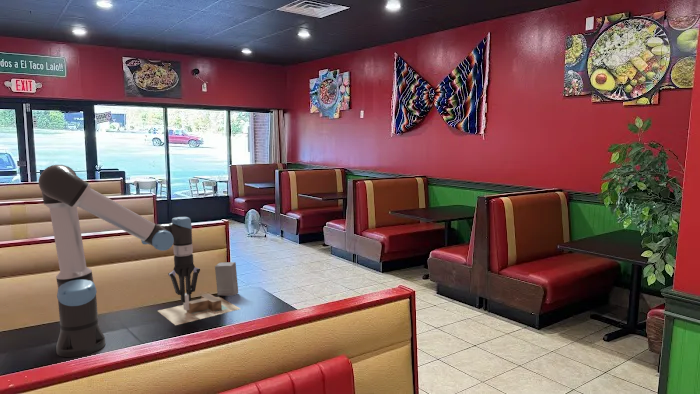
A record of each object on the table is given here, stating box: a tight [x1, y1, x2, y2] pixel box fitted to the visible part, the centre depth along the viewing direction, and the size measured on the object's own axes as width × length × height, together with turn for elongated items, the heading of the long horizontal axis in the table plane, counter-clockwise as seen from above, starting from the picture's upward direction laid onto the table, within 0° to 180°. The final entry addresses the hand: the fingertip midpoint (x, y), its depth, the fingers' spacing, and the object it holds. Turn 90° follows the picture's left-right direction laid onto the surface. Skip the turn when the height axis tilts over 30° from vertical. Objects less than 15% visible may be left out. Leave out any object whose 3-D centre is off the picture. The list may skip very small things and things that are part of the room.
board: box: [157, 296, 242, 326], centre depth 203 cm, size 28×22×1 cm
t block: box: [187, 293, 222, 314], centre depth 203 cm, size 12×12×4 cm
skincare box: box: [214, 261, 239, 297], centre depth 224 cm, size 8×7×16 cm
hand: (186, 309), depth 199 cm, fingers closed
